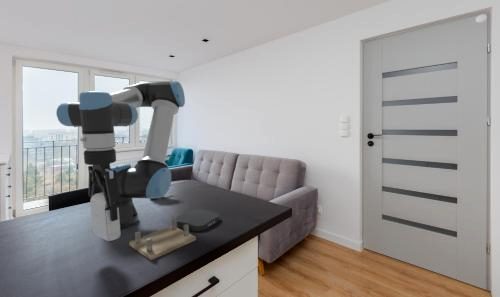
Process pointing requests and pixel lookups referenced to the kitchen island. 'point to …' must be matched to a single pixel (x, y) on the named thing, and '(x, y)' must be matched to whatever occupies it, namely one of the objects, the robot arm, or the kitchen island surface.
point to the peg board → (162, 241)
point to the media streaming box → (197, 219)
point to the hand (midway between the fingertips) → (105, 225)
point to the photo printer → (101, 218)
